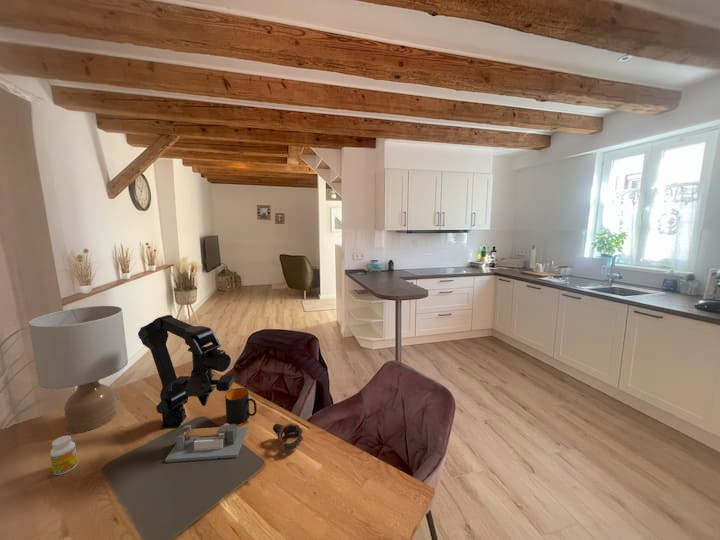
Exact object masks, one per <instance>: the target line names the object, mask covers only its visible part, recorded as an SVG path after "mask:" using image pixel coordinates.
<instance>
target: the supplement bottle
mask: <svg viewBox="0 0 720 540" xmlns="http://www.w3.org/2000/svg"><path fill="white" fill-rule="evenodd" d="M51 447H52V449H51V450H50V451H49V456H50V462H51V468H52V469H51V470H52V474H53V475H55V476H60V475H64V474H66V473H69V472H71V471H72V470H74V469H75V468H76V467H77V466H78V460H79V459H78V454H77V448H76V447H77V446H76V443H75V441H72V438H71V436H70V435H63V436H59V437H58V438H55V440H53V441H52V443H51Z"/></svg>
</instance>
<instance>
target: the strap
mask: <svg viewBox="0 0 720 540" xmlns="http://www.w3.org/2000/svg"><path fill="white" fill-rule="evenodd" d="M228 428H229V427H228V425H224V424H223V425H220V426H216V427H201V428H200V427H199V428H191V429H185V430H184V429H183V431H182V432H181V434H180V435H184V436H185V438H188V437H201V436H214V435H219V433H225V435H226V433H227V430H228Z"/></svg>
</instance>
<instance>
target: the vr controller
mask: <svg viewBox="0 0 720 540" xmlns="http://www.w3.org/2000/svg"><path fill="white" fill-rule="evenodd" d="M272 430H273V432H274V433H275V434H276V435H277V440H278V444H279V446H280V447H279V451H280V452H281V453H282V454H284V453H287V452H290V451H291V452H292V451H293V450H296V448H297V447H298V446H300V444H301V442H302V441H303V440H304V437H303V436H302V435H303V432H304V430H303V429H302V428H301V427H300V425H299V424H297V423H292V422H291V423H290V422H289V423H286V424H285V425H283V424H280V423H275V424H274V425H273V427H272ZM292 433H293V434H297V435H298V436H297V438H296V439H295V440H294V441H293V442H290V443H289V442H284V443H283V441H284V439H282V437H283V435H284V437H286V436H288V435H289V434H292Z"/></svg>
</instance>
